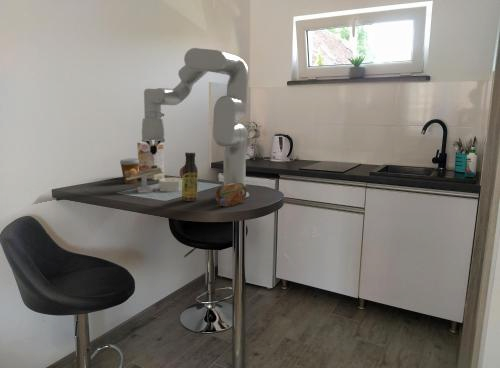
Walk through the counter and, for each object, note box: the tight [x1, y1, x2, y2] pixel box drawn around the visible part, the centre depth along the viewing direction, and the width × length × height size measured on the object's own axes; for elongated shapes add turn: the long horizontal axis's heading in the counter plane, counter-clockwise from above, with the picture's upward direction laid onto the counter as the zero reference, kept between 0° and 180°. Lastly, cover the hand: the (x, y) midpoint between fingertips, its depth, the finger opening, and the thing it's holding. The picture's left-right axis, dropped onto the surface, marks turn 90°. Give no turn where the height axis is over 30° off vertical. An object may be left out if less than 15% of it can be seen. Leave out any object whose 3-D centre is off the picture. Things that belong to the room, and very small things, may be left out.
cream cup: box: [158, 177, 182, 192], centre depth 175 cm, size 11×11×4 cm
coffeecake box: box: [137, 141, 165, 181], centre depth 205 cm, size 15×7×20 cm, turn 50°
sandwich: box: [215, 183, 247, 208], centre depth 146 cm, size 15×3×8 cm, turn 137°
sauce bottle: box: [181, 151, 199, 202], centre depth 151 cm, size 6×6×20 cm
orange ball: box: [129, 169, 137, 175], centre depth 168 cm, size 3×3×3 cm
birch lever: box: [124, 165, 162, 180], centre depth 173 cm, size 13×16×3 cm
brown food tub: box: [119, 158, 139, 184], centre depth 190 cm, size 10×10×12 cm
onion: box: [179, 165, 199, 178], centre depth 193 cm, size 10×9×10 cm
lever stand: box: [136, 174, 153, 194], centre depth 170 cm, size 9×6×8 cm, turn 21°
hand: (153, 154), depth 178 cm, fingers closed
